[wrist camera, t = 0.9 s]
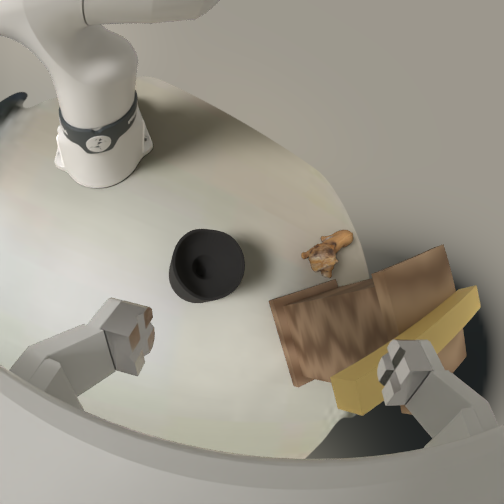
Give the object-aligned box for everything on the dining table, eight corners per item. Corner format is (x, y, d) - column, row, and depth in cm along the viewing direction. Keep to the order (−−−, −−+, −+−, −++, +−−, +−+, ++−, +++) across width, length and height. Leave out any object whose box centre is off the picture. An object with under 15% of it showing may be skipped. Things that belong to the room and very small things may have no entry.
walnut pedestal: (268, 300, 48) (382, 270, 25) (330, 280, 54) (443, 244, 30) (293, 385, 45) (412, 414, 22) (351, 356, 51) (466, 356, 28)
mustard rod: (330, 377, 20) (355, 381, 17) (458, 289, 30) (476, 285, 27) (337, 408, 19) (362, 415, 17) (462, 310, 29) (480, 307, 27)
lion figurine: (306, 287, 51) (336, 279, 43) (288, 266, 51) (315, 253, 43) (345, 240, 58) (374, 227, 50) (330, 221, 57) (357, 205, 49)
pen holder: (197, 318, 43) (212, 315, 34) (153, 276, 42) (156, 262, 33) (235, 275, 47) (258, 262, 38) (194, 236, 46) (207, 213, 37)
